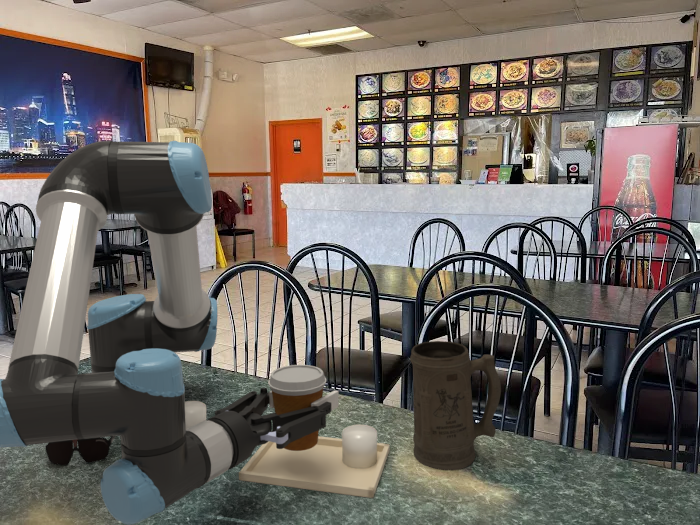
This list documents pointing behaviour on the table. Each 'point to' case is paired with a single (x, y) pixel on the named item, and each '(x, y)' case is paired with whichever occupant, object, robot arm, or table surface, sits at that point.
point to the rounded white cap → (194, 413)
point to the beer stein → (449, 404)
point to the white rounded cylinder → (359, 446)
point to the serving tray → (314, 468)
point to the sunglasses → (79, 450)
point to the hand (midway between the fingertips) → (315, 393)
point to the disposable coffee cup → (297, 395)
